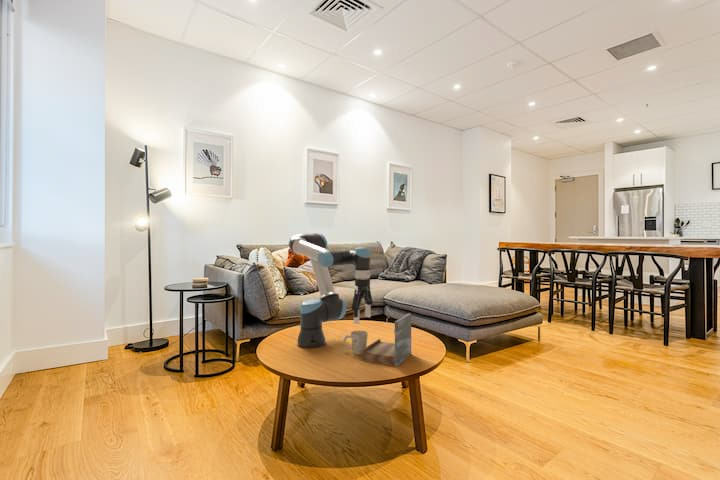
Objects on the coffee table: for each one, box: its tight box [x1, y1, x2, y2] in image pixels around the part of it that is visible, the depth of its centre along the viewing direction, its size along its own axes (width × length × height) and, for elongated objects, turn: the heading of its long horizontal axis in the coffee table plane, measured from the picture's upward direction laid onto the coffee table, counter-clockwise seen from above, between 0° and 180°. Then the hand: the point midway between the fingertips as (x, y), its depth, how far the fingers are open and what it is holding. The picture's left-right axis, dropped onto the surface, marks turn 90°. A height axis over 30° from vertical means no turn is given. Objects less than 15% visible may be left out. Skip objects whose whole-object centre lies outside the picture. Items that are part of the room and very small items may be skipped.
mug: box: [342, 330, 369, 356], centre depth 178 cm, size 8×13×10 cm, turn 78°
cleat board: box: [362, 313, 412, 367], centre depth 171 cm, size 18×18×20 cm
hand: (362, 320), depth 179 cm, fingers open, 13 cm apart
